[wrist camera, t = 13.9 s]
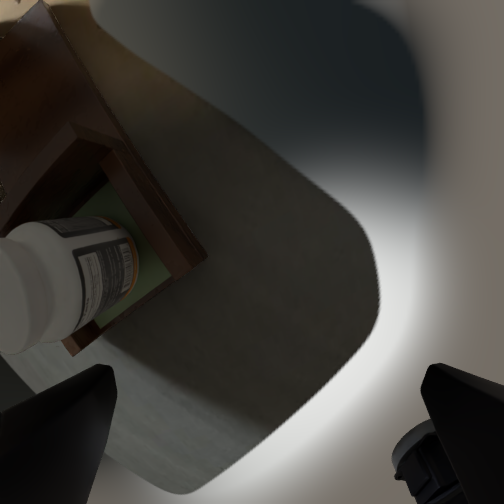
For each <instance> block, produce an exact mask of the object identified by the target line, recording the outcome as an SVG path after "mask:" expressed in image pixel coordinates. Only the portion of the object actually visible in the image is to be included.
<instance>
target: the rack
mask: <svg viewBox="0 0 504 504" xmlns="http://www.w3.org/2000/svg"><path fill="white" fill-rule="evenodd" d="M0 180H1V182H2V185H3V188H4V190H5V193H6V197H5V198H4V199H3V201H2V202H1V204H0V238H6V236H7V235H8V234H9V233H10V232H11V231H12V230H13V229H15V228H16V227H18V226H20V225H22V224H24V223H28V222H34V221H44V220H54V219H62V218H73V217H86V216H105V217H109V218H111V219H113V220H116V221H117V222H119V223H120V224H121V225H122V226H123V227H125V229H126V230H127V231H128V232H129V233H130V235H131V236H132V238H133V240H134V242H135V245H136V248H137V251H138V256H139V272H138V277H137V281H136V283H135V285H134V287H133V289H132V290H131V292H130V293H129V294H128V295H127V296H126V297H125V298H124V299H123V300H121V301H120V302H118V303H117V304H116V305H114V306H112V307H111V308H109V309H108V310H106V311H105V312H103V313H102V314H100V315H99V316H97V317H96V318H94V319H93V320H91V321H90V322H88V323H87V324H85V325H84V326H82V327H81V328H80V329H78V330H77V331H75V332H74V333H72V334H71V335H69V336H68V337H67V338H65V339H63V340H61V341H62V343H63V344H64V346H65V347H66V349H67V350H68V351H69V353H70V354H71V356H72V357H74V356H75V355H76V354H78V353H79V352H80V351H82V350H83V349H84V348H85V347H87V346H88V345H89V344H91V343H92V342H93V341H94V340H96V339H97V338H98V337H100V336H101V335H102V334H104V333H105V332H106V331H108V330H109V329H110V328H112V327H113V326H114V325H116V324H117V323H119V322H120V321H121V320H123V319H124V318H125V317H127V316H128V315H129V314H131V313H132V312H133V311H135V310H136V309H138V308H139V307H140V306H142V305H143V304H144V303H146V302H147V301H149V300H150V299H151V298H153V297H154V296H155V295H157V294H158V293H160V292H161V291H162V290H164V289H165V288H166V287H168V286H169V285H171V284H172V283H173V282H175V281H177V280H178V279H180V278H181V277H183V276H184V275H185V274H187V273H188V272H190V271H191V270H192V269H194V268H195V267H196V266H198V265H199V264H200V263H201V262H203V261H204V260H205V259H207V258H208V257H209V255H208V254H207V253H206V251H205V250H204V248H203V247H202V246H201V244H200V243H199V241H198V240H197V238H196V237H195V236H194V234H193V233H192V231H191V230H190V228H189V227H188V225H187V224H186V223H185V221H184V220H183V218H182V217H181V215H180V214H179V212H178V211H177V209H176V208H175V207H174V205H173V204H172V202H171V201H170V199H169V198H168V196H167V195H166V193H165V192H164V190H163V189H162V187H161V186H160V184H159V183H158V181H157V180H156V178H155V177H154V175H153V174H152V172H151V171H150V169H149V168H148V166H147V165H146V163H145V162H144V160H143V159H142V157H141V156H140V154H139V153H138V151H137V150H136V148H135V147H134V145H133V143H132V142H131V140H130V139H129V137H128V136H127V134H126V133H125V131H124V129H123V128H122V126H121V125H120V123H119V122H118V120H117V119H116V117H115V115H114V114H113V112H112V111H111V109H110V107H109V106H108V104H107V103H106V101H105V99H104V98H103V96H102V95H101V93H100V91H99V90H98V88H97V87H96V85H95V83H94V82H93V80H92V78H91V77H90V75H89V73H88V72H87V70H86V68H85V67H84V65H83V63H82V62H81V60H80V58H79V57H78V55H77V53H76V52H75V50H74V48H73V47H72V45H71V43H70V42H69V40H68V38H67V36H66V35H65V33H64V31H63V30H62V28H61V26H60V24H59V23H58V21H57V19H56V17H55V15H54V14H53V12H52V10H51V8H50V7H49V5H48V4H47V3H46V2H44V1H43V0H39V1H38V2H37V3H36V4H35V5H34V6H33V7H32V8H31V9H30V10H29V11H28V12H27V13H26V14H25V15H24V16H23V17H22V18H21V19H20V20H19V21H18V22H17V23H16V24H15V25H14V26H13V27H12V29H11V30H10V31H9V32H8V33H7V34H6V35H5V37H4V38H3V39H2V40H1V41H0Z"/></svg>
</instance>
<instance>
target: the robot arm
mask: <svg viewBox="0 0 504 504" xmlns="http://www.w3.org/2000/svg"><path fill="white" fill-rule="evenodd" d="M421 395H422V398H423V400H424V403H425V405H426V408H427V410H428V413H429V416H430V418H431V421H432V424H433V426H434V429H435V431H436V433H432V432H429V433H426V434H425V435H424V436H423V437H422V439H421V440H420V442H419V443H418V444H417V446H416V447H415V449H414V450H413V452H412V453H411V454H410V456H409V457H408V458H407V460H406V461H405V462H404V464H403V465H402V466H401V468H400V469H399V470H398V471H397V473H396V474H395V476H394V477H395V479H396V480H405V481H406V483H407V486H408V488H409V491H410V493H411V496H414V497H415V499H416V502H417V504H504V385H501V384H498V383H495V382H492V381H489V380H486V379H484V378H481V377H478V376H475V375H473V374H470V373H467V372H464V371H462V370H459V369H456V368H453V367H451V366H448V365H446V364H443V363H437V364H432V365H430V366H429V367H428V369H427V371H426V374H425V377H424V380H423V382H422V385H421ZM116 400H117V387H116V382H115V376H114V371H113V368H112V367H111V366H109V365H103V364H96V365H94V366H92V367H90V368H88V369H86V370H84V371H82V372H80V373H78V374H76V375H75V376H73V377H71V378H69V379H67V380H65V381H63V382H61V383H59V384H57V385H55V386H53V387H51V388H49V389H47V390H45V391H43V392H40V393H38V394H36V395H34V396H32V397H30V398H28V399H26V400H24V401H22V402H20V403H18V404H16V405H14V406H12V407H10V408H8V409H6V410H3V411H2V413H1V412H0V504H86V503H87V500H88V497H89V494H90V491H91V488H92V485H93V482H94V479H95V475H96V472H97V470H98V467H99V464H100V461H101V458H102V455H103V452H104V449H105V446H106V443H107V439H108V435H109V430H110V426H111V421H112V417H113V413H114V409H115V404H116Z"/></svg>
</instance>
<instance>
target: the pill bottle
mask: <svg viewBox="0 0 504 504" xmlns="http://www.w3.org/2000/svg"><path fill="white" fill-rule="evenodd" d="M138 272H139V256H138V251H137V248H136V245H135V242H134V240H133V238H132V236H131V235H130V233H129V232H128V231H127V230H126V229H125V227H123V226H122V225H121V224H120V223H119V222H117V221H116V220H113V219H111V218H109V217H105V216H86V217H73V218H62V219H54V220H44V221H34V222H28V223H24V224H22V225H20V226H18V227H16V228H15V229H13V230H12V231H11V232H10V233H9V234H8V235H7V236H6V238H0V352H2V353H5V354H9V355H15V354H19V353H21V352H23V351H25V350H26V349H28V348H30V347H32V346H34V345H35V344H36V343H38V342H42V343H53V342H57V341H60V340H63V339H65V338H67V337H68V336H69V335H71V334H72V333H74V332H75V331H77V330H78V329H80V328H81V327H82V326H84V325H85V324H87V323H88V322H90V321H91V320H93V319H94V318H96V317H97V316H99V315H100V314H102V313H103V312H105V311H106V310H108V309H109V308H111V307H112V306H114V305H116V304H117V303H118V302H120V301H121V300H123V299H124V298H125V297H126V296H127V295H128V294H129V293H130V292H131V290H132V289H133V287H134V285H135V283H136V281H137V277H138Z"/></svg>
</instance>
